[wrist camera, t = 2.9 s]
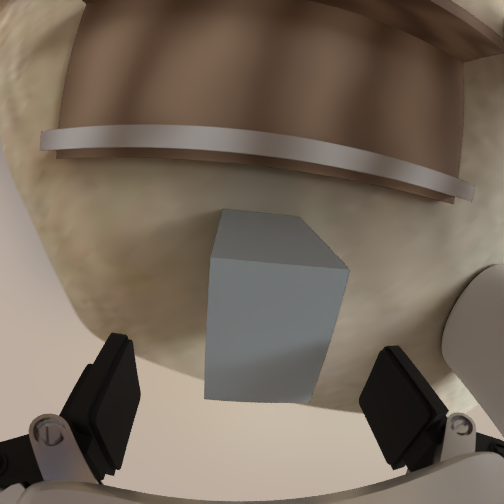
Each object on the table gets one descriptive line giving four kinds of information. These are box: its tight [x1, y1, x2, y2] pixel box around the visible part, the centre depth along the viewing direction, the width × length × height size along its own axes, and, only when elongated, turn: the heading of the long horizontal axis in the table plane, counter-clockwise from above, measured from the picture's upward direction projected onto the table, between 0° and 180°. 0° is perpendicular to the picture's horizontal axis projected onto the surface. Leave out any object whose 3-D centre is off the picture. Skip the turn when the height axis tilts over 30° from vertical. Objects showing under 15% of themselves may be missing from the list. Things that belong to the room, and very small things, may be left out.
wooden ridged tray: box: [40, 0, 504, 204], centre depth 12 cm, size 28×13×6 cm, turn 83°
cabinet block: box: [204, 209, 350, 403], centre depth 15 cm, size 5×8×9 cm, turn 173°
